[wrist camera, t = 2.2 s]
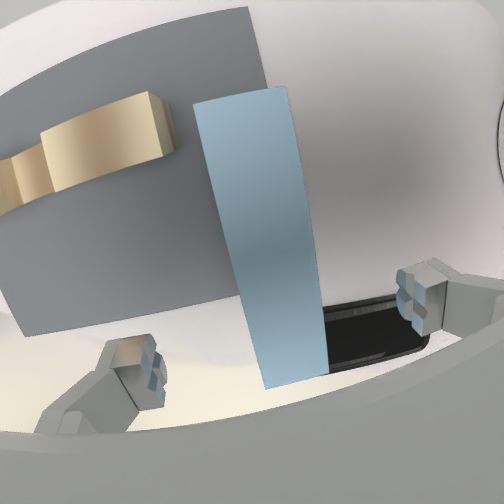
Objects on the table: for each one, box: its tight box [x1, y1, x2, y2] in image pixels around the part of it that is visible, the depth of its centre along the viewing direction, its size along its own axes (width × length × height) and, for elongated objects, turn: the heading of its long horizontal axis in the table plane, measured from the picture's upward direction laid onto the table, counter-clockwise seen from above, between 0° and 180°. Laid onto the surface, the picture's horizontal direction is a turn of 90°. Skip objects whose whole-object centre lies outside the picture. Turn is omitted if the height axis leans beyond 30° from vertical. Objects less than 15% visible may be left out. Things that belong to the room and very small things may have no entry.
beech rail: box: [0, 91, 179, 216], centre depth 18 cm, size 18×4×7 cm, turn 102°
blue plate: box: [193, 86, 329, 389], centre depth 19 cm, size 4×14×11 cm, turn 12°
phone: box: [321, 294, 430, 376], centre depth 30 cm, size 8×1×15 cm
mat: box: [0, 6, 267, 337], centre depth 22 cm, size 28×22×1 cm
